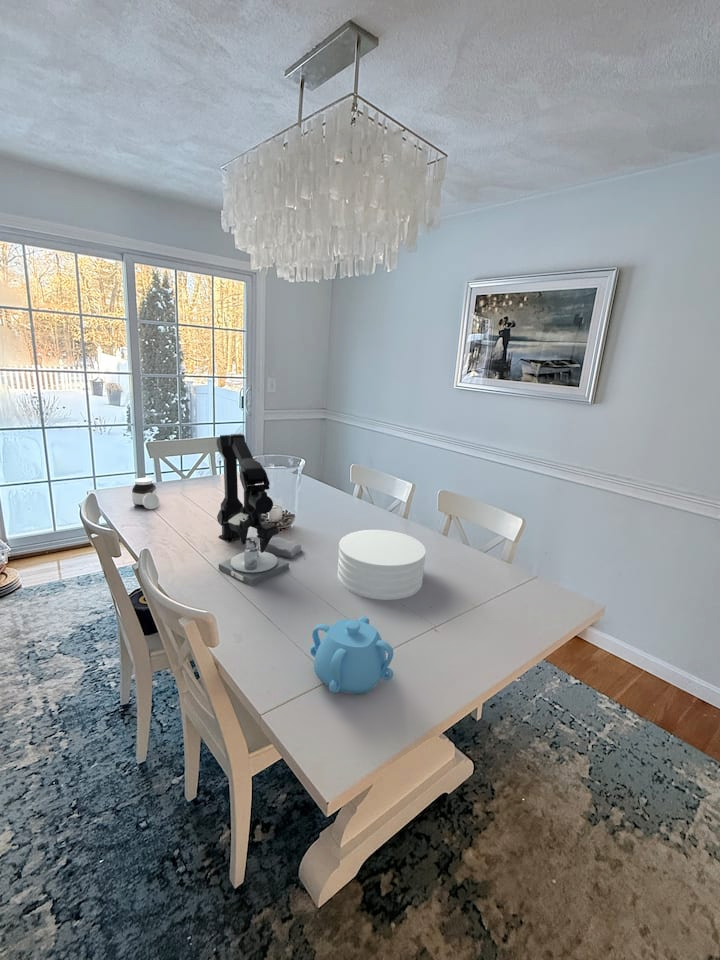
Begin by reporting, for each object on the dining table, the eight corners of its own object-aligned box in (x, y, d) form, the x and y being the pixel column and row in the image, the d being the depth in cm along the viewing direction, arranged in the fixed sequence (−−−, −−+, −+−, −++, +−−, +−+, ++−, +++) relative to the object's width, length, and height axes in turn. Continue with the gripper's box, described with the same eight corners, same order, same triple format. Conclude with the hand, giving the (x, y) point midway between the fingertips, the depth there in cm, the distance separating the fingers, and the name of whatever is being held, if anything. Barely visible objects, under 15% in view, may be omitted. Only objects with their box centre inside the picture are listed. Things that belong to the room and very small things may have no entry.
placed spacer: (241, 567, 142) (241, 550, 141) (251, 563, 146) (251, 546, 144) (250, 571, 140) (250, 554, 139) (259, 567, 143) (260, 550, 142)
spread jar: (144, 500, 205) (142, 476, 202) (167, 503, 204) (165, 478, 201) (127, 508, 194) (125, 483, 190) (151, 511, 192) (150, 485, 189)
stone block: (277, 547, 170) (261, 551, 161) (279, 535, 170) (263, 538, 161) (303, 556, 166) (288, 560, 157) (306, 543, 165) (291, 547, 156)
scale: (217, 569, 146) (216, 561, 145) (256, 554, 159) (256, 546, 158) (250, 586, 137) (250, 577, 136) (288, 568, 150) (289, 560, 150)
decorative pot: (321, 709, 92) (324, 652, 88) (307, 659, 107) (309, 608, 103) (395, 696, 97) (401, 642, 93) (371, 650, 112) (376, 601, 108)
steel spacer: (243, 555, 150) (243, 539, 149) (253, 552, 154) (253, 536, 152) (251, 559, 148) (252, 542, 147) (261, 555, 151) (261, 539, 150)
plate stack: (377, 552, 168) (380, 523, 165) (439, 581, 149) (443, 549, 146) (320, 574, 148) (321, 542, 145) (381, 610, 130) (385, 574, 126)
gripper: (214, 502, 145) (215, 547, 149) (252, 517, 134) (252, 564, 139) (241, 495, 154) (241, 537, 158) (280, 508, 143) (279, 553, 147)
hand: (252, 548), depth 150 cm, fingers open, 9 cm apart
